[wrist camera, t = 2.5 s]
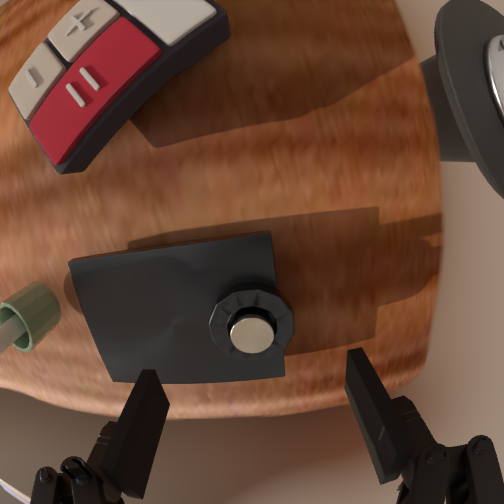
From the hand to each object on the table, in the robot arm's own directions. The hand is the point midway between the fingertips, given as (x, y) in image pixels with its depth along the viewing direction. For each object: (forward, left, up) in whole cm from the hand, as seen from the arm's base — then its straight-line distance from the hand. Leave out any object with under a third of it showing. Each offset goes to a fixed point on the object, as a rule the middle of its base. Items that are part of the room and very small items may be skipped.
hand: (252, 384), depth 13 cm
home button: (0, 0, -6) cm, 6 cm away
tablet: (+6, 0, -8) cm, 10 cm away
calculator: (+8, -21, -8) cm, 24 cm away
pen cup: (+20, -2, -8) cm, 22 cm away
